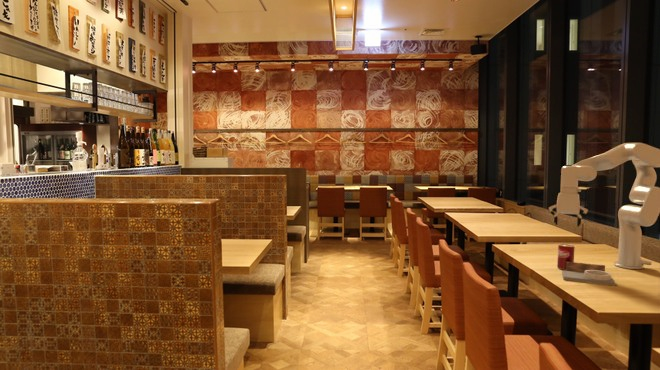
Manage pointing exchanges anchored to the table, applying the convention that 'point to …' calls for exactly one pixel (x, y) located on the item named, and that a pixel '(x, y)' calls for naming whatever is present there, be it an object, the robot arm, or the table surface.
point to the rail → (583, 267)
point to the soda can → (565, 255)
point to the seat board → (583, 279)
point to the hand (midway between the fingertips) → (567, 225)
